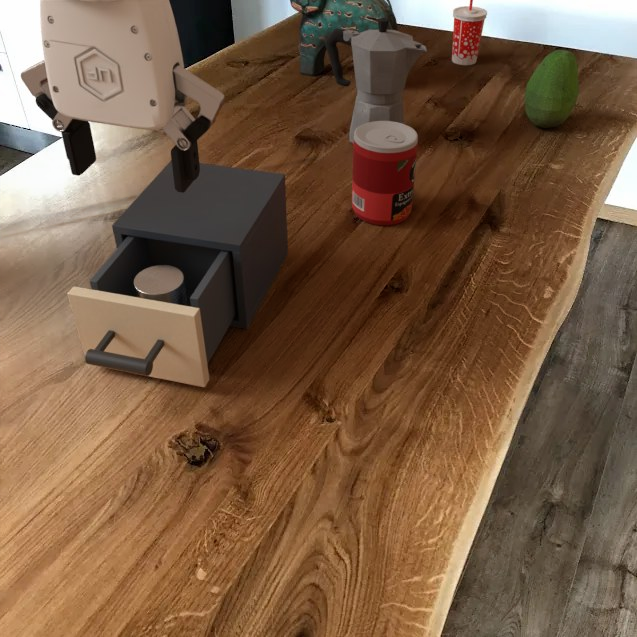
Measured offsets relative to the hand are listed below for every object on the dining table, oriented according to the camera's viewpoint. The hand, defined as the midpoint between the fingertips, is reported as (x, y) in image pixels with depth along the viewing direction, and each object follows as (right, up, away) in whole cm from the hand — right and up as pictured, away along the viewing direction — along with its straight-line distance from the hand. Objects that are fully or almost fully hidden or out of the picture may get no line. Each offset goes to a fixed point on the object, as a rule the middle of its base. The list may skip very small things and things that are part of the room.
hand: (135, 176), depth 64 cm
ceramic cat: (+21, +31, +68) cm, 78 cm away
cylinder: (+1, -14, +11) cm, 18 cm away
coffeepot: (+24, +16, +50) cm, 57 cm away
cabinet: (+4, -8, +21) cm, 23 cm away
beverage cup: (+43, +36, +74) cm, 93 cm away
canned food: (+24, +2, +33) cm, 41 cm away
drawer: (0, -15, +11) cm, 19 cm away
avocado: (+52, +18, +53) cm, 76 cm away
